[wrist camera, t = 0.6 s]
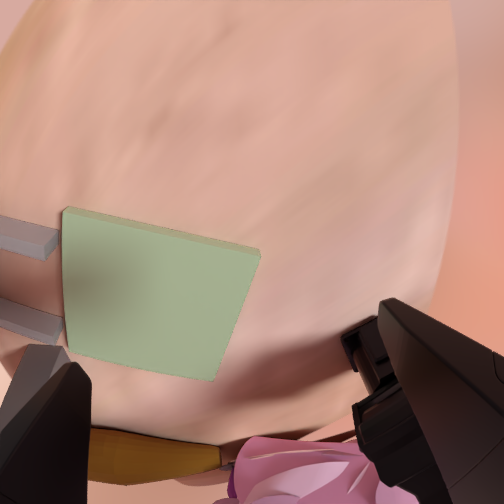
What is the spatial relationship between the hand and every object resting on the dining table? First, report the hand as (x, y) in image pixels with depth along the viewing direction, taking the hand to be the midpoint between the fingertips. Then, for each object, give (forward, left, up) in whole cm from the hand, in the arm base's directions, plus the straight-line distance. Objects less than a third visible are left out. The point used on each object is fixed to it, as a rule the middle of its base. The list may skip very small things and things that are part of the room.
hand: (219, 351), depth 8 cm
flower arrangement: (-42, +8, -14) cm, 45 cm away
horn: (-23, +28, -14) cm, 39 cm away
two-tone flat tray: (-2, +13, -13) cm, 19 cm away
